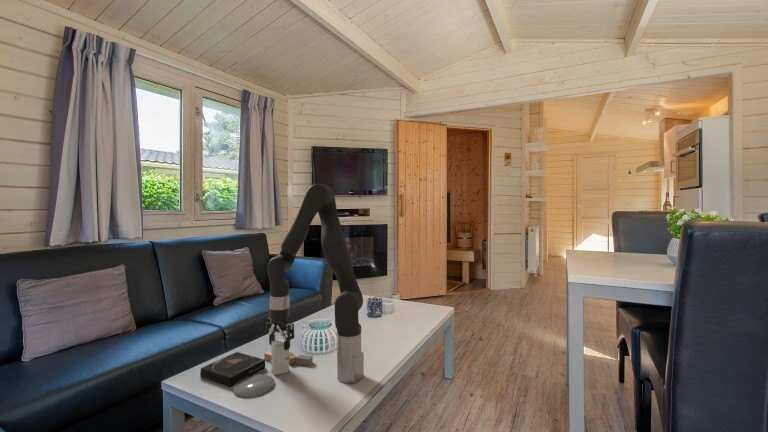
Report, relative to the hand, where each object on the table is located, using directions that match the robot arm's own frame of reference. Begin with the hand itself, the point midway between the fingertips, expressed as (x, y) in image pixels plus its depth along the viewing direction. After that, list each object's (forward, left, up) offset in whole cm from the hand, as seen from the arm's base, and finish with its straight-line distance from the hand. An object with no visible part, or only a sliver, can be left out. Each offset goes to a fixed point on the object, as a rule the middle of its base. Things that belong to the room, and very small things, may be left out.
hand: (279, 346), depth 138 cm
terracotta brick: (+11, -5, -10) cm, 16 cm away
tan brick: (+3, -8, -10) cm, 13 cm away
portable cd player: (+15, +10, -11) cm, 21 cm away
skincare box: (0, 0, -10) cm, 10 cm away
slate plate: (-1, +13, -10) cm, 16 cm away
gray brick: (-3, -10, -10) cm, 15 cm away
